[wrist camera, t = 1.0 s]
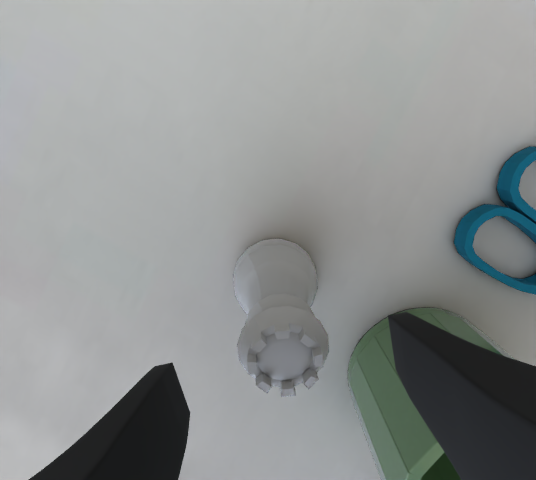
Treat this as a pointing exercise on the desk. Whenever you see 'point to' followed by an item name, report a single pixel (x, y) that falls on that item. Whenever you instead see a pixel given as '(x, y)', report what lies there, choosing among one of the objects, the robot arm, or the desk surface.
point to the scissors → (517, 213)
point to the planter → (402, 402)
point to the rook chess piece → (279, 316)
